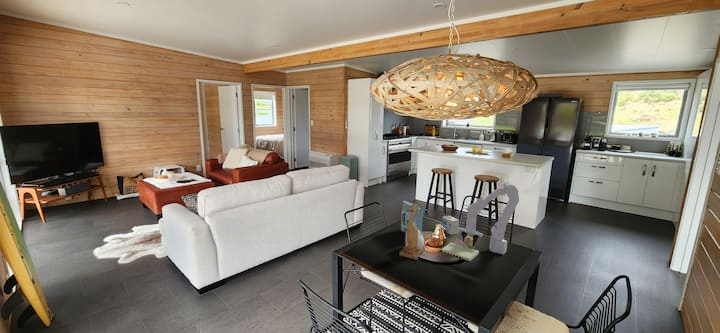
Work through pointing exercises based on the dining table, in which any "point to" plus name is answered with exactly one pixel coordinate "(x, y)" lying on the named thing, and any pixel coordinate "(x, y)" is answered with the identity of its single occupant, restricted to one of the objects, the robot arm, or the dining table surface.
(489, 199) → the robot arm
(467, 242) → the maple block
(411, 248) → the bird sculpture
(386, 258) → the dining table surface
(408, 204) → the gum box
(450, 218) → the light bulb box
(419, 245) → the figurine
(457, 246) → the green tile
